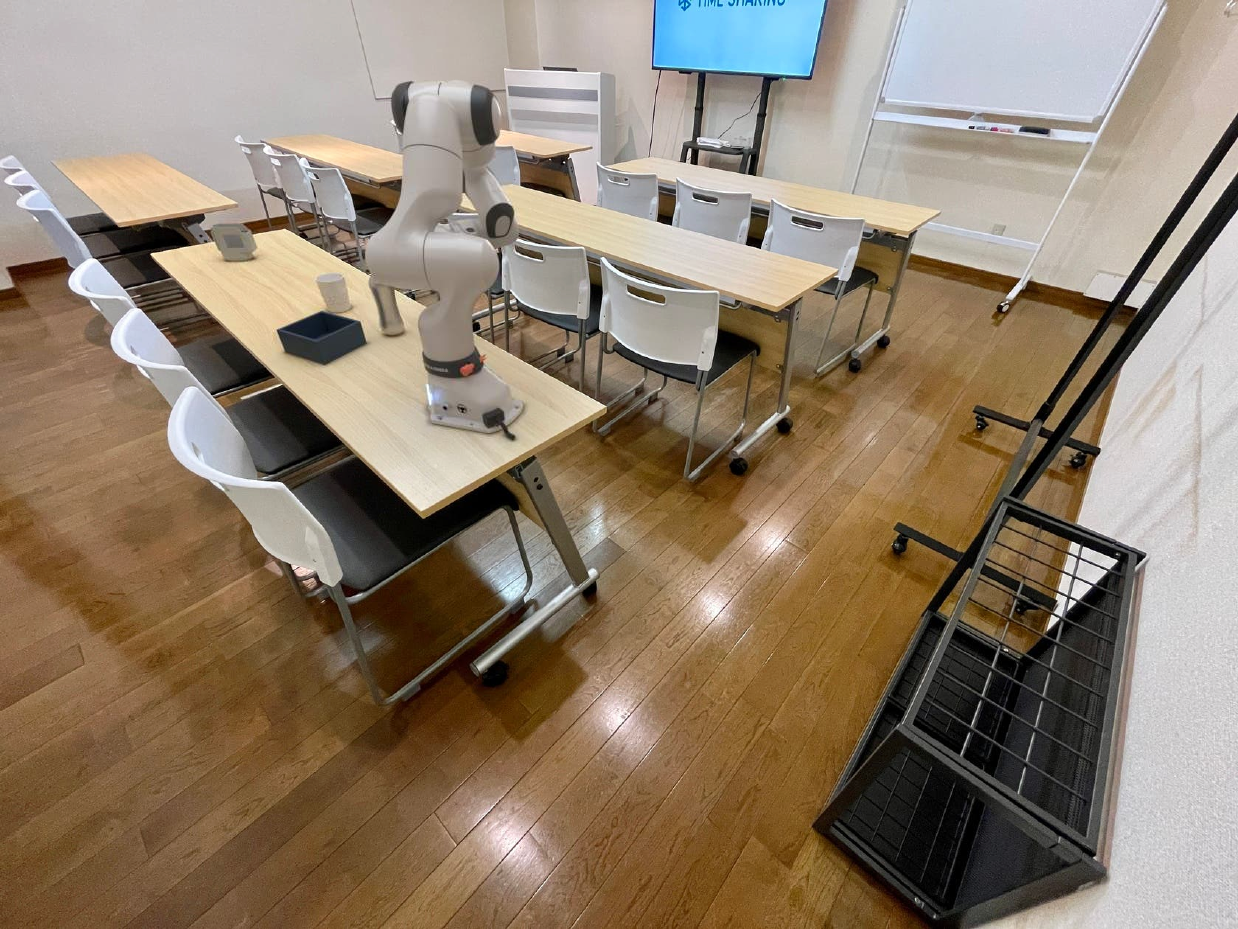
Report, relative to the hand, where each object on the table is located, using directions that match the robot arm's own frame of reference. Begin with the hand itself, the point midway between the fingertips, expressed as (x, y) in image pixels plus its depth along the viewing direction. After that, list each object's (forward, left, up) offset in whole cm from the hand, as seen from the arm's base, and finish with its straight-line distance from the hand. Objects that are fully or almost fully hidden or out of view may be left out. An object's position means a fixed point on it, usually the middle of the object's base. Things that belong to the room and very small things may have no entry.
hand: (418, 243), depth 143 cm
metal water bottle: (+6, +11, -24) cm, 27 cm away
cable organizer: (+99, -10, -24) cm, 102 cm away
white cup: (+33, +6, -24) cm, 41 cm away
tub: (+15, +27, -23) cm, 38 cm away
